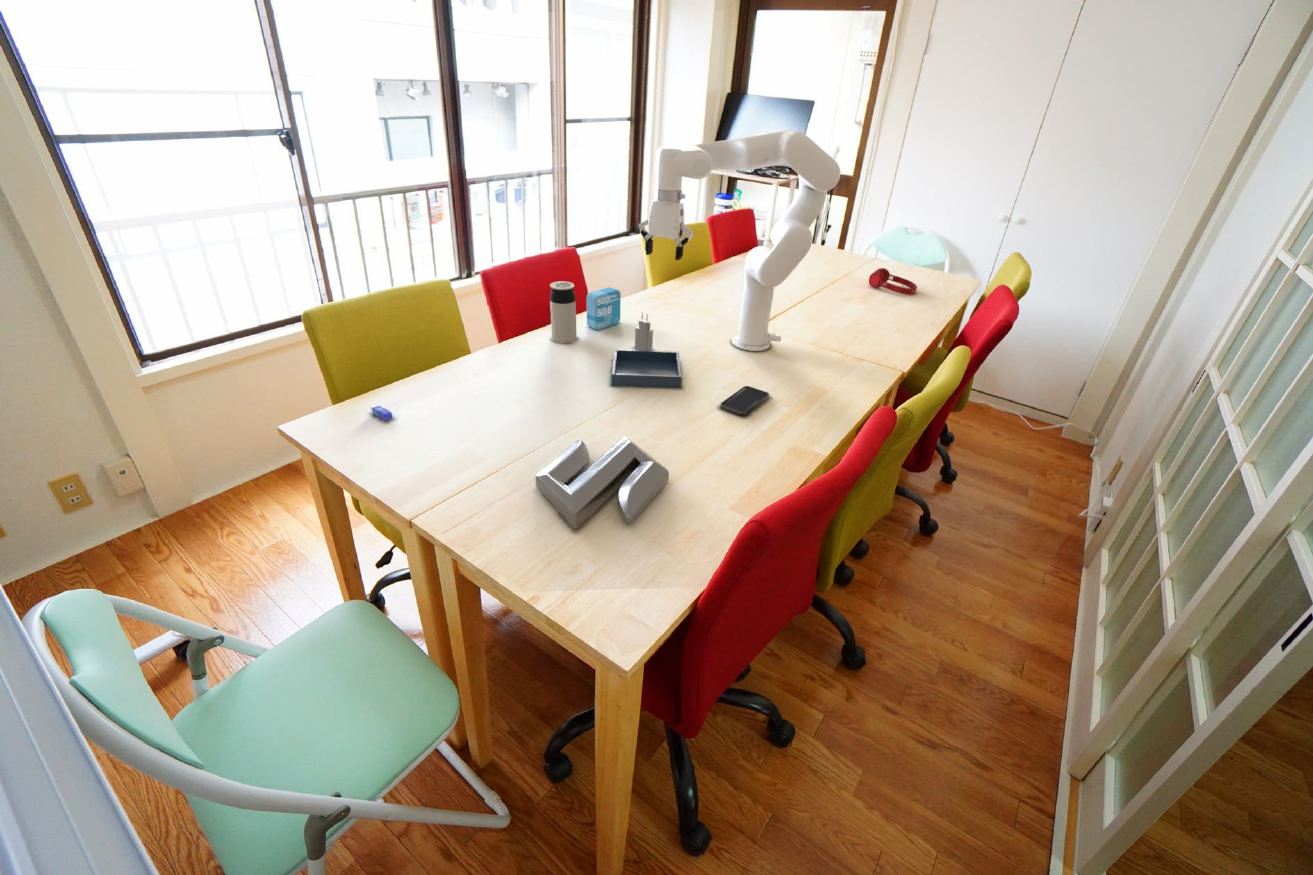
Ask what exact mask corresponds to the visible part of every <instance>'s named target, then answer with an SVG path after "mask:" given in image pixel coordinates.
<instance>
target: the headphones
mask: <svg viewBox="0 0 1313 875" xmlns="http://www.w3.org/2000/svg"><path fill="white" fill-rule="evenodd" d="M888 281H890V282H888ZM891 282H893V283H897V284H900V285H903V286H905V287H902V286H899V285H895V284H893V283H891ZM868 284H869V286H871V287H872V288H874V289H879V288H884V289H886V290H889V291H892V292H895V293H898V294H902V295H914V294H915V293H916V291H917V289H918V286H917V284H916V283H914V282H913V281H910V280H908V279H907V278H903V277H901V276H898V275H894V274H891V273H890V271H889V270H888V269H887V268H885V267H880V268H877V269H875V271H874V272H872V273H870V275H869V277H868Z"/></svg>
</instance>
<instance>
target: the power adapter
mask: <svg viewBox="0 0 1313 875" xmlns="http://www.w3.org/2000/svg"><path fill="white" fill-rule="evenodd" d="M648 316H649V315H648V313H646V318H643V317H644V313H643V312H641V318H638V324H637V326H635V328H634V350H644V351H653V341H654V340H653V339H654V328H652V327H651V320H648Z"/></svg>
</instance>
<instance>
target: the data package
mask: <svg viewBox="0 0 1313 875" xmlns="http://www.w3.org/2000/svg"><path fill="white" fill-rule="evenodd" d="M620 321H621V291H620V290H618V289H616V288H613V287H610V286H609V287H604V288H602V289H597V290H594V291H591V292H588V293H587V294H586V325H587V326H588V327H589V328H592V329H594V330H596V331H598V330H599V331H600V330H602V329H605V328H608V327H612V326H614V325H617V324H619V323H620Z"/></svg>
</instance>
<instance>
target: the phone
mask: <svg viewBox="0 0 1313 875" xmlns="http://www.w3.org/2000/svg"><path fill="white" fill-rule="evenodd" d="M769 398H770V393H769V392H768V391H764V390H761V389H758V388H756V387H753V386H749V385H745V386H743V387H741V388H740V389H739V390H737V391H736V392H734V393H733V394H732V395H730V396H728V397H727V398H726V399H724V400H723V401H722V402H720V409H721V410H723V411H726V412H728V413H731V414H734V415H737V416H739V417H748V415H750V414H751V413H752V412H753V411H754V410H756V409H757V408H758V407H760V406H761V405H762V404H763V403H764V402H766V401H768V399H769Z"/></svg>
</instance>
